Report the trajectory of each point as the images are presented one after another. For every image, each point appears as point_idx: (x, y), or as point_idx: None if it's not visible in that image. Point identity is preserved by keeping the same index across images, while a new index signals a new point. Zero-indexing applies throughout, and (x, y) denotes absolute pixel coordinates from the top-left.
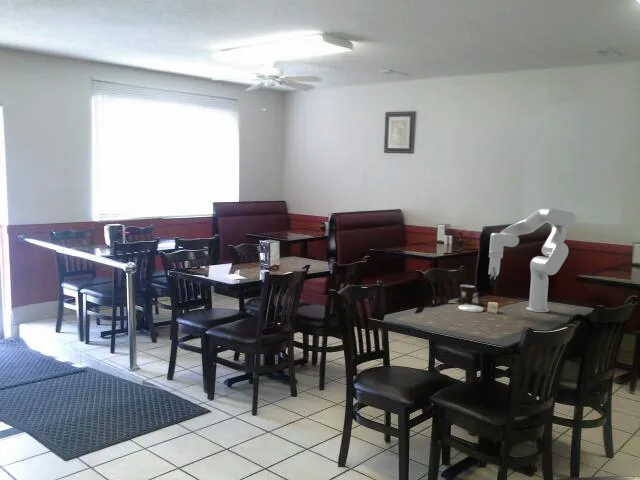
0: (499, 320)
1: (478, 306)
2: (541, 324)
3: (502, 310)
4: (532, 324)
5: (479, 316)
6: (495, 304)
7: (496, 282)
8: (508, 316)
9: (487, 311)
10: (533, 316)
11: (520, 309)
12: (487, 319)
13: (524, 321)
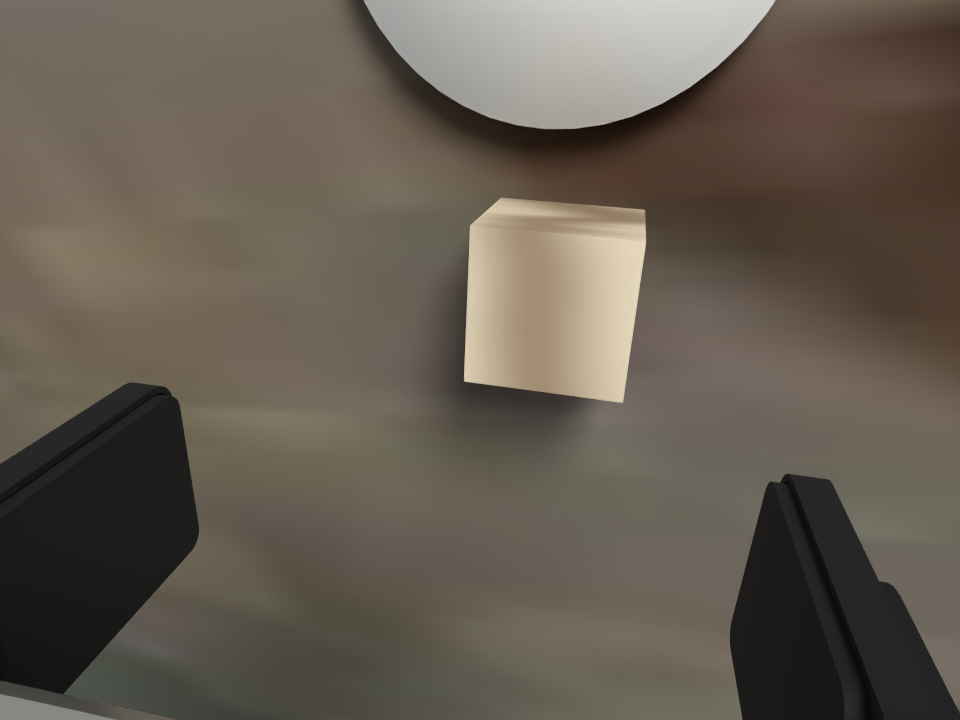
0: (80, 360)
1: (738, 11)
2: (188, 699)
3: (735, 414)
4: (135, 634)
5: (121, 109)
6: (465, 356)
7: (741, 659)
8: (356, 464)
9: (500, 200)
10: (516, 705)
11: (928, 645)
12: (31, 226)
13: (210, 589)
